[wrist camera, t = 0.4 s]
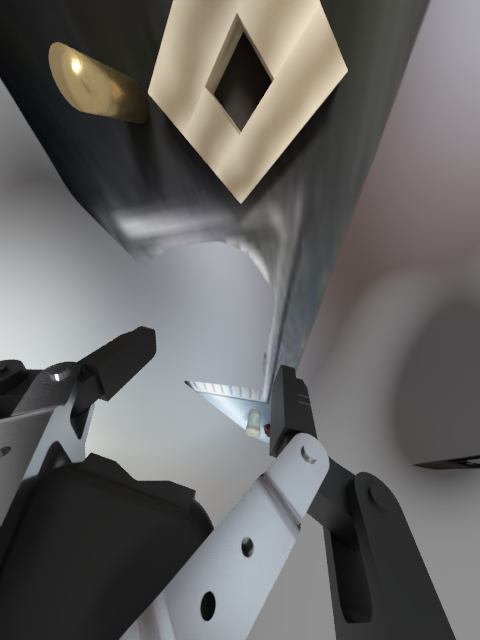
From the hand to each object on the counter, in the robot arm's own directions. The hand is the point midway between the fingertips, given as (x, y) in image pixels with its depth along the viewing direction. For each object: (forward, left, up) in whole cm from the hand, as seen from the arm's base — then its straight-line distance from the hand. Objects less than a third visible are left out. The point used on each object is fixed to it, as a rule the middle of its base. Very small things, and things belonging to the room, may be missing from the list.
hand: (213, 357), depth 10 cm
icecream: (+95, -77, -30) cm, 126 cm away
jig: (-13, +8, -29) cm, 33 cm away
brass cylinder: (-24, -3, -29) cm, 38 cm away
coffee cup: (+73, -70, -30) cm, 105 cm away
